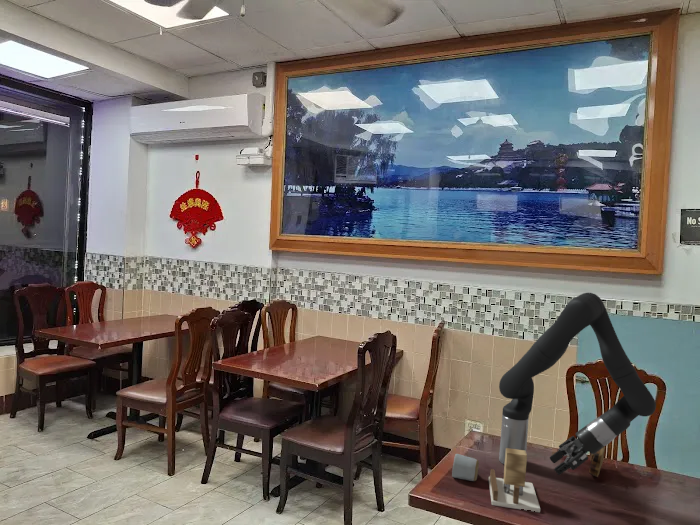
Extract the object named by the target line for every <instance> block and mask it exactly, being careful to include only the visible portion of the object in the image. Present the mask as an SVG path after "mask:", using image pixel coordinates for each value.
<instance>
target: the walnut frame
mask: <svg viewBox="0 0 700 525" xmlns="http://www.w3.org/2000/svg"><path fill="white" fill-rule="evenodd" d="M489 474H490V475H489V477H490V480H491V487H492V494H493V500H495V501H497V499H498V488H497V482H496V478H497V476H496V471H495V469H494V468H490V473H489ZM518 500H519V486H516V485H514V493H513V503H514V504H518Z"/></svg>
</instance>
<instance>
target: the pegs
mask: <svg viewBox="0 0 700 525" xmlns="http://www.w3.org/2000/svg"><path fill="white" fill-rule="evenodd" d="M504 492H505V493H507V494H509V493H510V485H509V484H505V483H504ZM519 495H520V496H522V495H523V486H519Z"/></svg>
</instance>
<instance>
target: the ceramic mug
mask: <svg viewBox="0 0 700 525" xmlns="http://www.w3.org/2000/svg"><path fill="white" fill-rule="evenodd" d="M479 466H480V462H479V460H478V459H476V458H474V457H472V456H471V457H469V456H466V455H463V454H460V453H455V454H454V457H453V464H452V471H451V477H452V478H455V479H459V480H464V481H470V482H476V481H477V479H478V473H479Z"/></svg>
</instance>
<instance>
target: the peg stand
mask: <svg viewBox="0 0 700 525" xmlns="http://www.w3.org/2000/svg"><path fill="white" fill-rule="evenodd" d="M496 482H497V488H498V499H497V501H495V500H493V494H492V487H491V480H490V476H488V486H489V494H490V501H491V505H492V506H496V507H503V508H509V509H515V510H521V509H524V510H523V511H527V510H531V511H530V512H534V511H535V512H534V513H541V507H540V503H539V500H538V497H537V495H536V491H535V487H534V485H533V482H529V481H525V487H523V495H522V496H520V495H519V500H518V504H514V503H513V493H514V485H510V493H509V494H507V493H505V492H504V478H502V477H496Z"/></svg>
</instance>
